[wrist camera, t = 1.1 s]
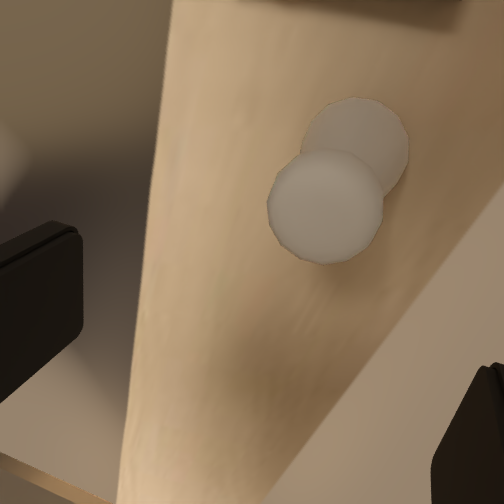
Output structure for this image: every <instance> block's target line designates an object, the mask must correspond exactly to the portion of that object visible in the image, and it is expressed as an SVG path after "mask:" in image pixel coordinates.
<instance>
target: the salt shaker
mask: <svg viewBox="0 0 504 504" xmlns="http://www.w3.org/2000/svg"><path fill="white" fill-rule="evenodd" d="M408 152H409V137H408V135H407V133H406V131H405V129H404V127H403V125H402V123H401V121H400V118H399V116H398V115H397V114H395V113H394V112H393V111H391V110H390V109H389V108H387V107H386V106H385V105H383V104H382V103H381V102H379V101H377V100H370V99H364V98H357V97H351V98H348V99H344V100H341V101H337V102H334V103H331V104H328V105H327V106H326V107H325V108H324V109H323V110H322V111H321V112H320V113H319V114H318V115H317V116H316V117H315V118H314V119H313V120H312V121H311V123H310V125H309V127H308V130H307V132H306V134H305V137H304V139H303V141H302V145H301V150H300V154H299V155H298V156H296V157H295V158H294V159H293V160H292V161H291V162H290V163H289V164H288V165H286V166H285V167H284V168H283V169H282V170H281V171H280V172H279V173H278V174H277V177H276V179H275V182H274V184H273V187H272V189H271V192H270V194H269V197H268V200H267V209H268V218H269V225H270V227H271V229H272V231H273V232H274V234H275V236H276V238H277V239H278V241H279V243H280V245H281V246H283V247H284V248H286V249H287V250H288V251H290V252H291V253H292V254H294V255H295V256H297V257H298V258H299V259H302V260H306V261H309V262H313V263H317V264H321V265H327V264H333V263H338V262H344V261H348V260H349V259H351V258H352V257H354V256H355V255H357V254H358V253H360V252H361V251H363V250H364V249H366V248H367V247H368V246H369V244H370V243H371V242H372V240H373V238H374V236H375V234H376V232H377V230H378V228H379V227H380V225H381V223H382V221H383V198H384V197H385V196H386V195H387V194H388V193H389V192H390V190H391V189H392V188H393V187H394V186H395V185H396V184H397V182H398V181H399V179H400V177H401V175H402V173H403V171H404V169H405V168H406V166H407V164H408Z"/></svg>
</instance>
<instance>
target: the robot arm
mask: <svg viewBox="0 0 504 504" xmlns="http://www.w3.org/2000/svg"><path fill="white" fill-rule="evenodd" d="M82 328H83V240H82V237H81V236H80V235H79V234H78V231H77V229H76V228H75V227H73V226H70V225H67V224H63V223H61V222H58V221H53V220H52V221H48V222H46V223H44V224H42V225H40V226H38V227H36V228H34V229H32V230H30V231H28V232H26V233H23V234H21V235H19V236H17V237H15V238H13V239H11V240H9V241H7V242H5V243H3V244H1V245H0V403H1V402H2V401H4V400H5V399H6V398H7V397H8V396H9V395H11V394H12V393H13V392H14V391H15V390H16V389H18V388H19V387H20V386H21V385H22V384H23V383H24V382H26V381H27V380H28V379H29V378H30V377H32V376H33V375H34V374H35V373H36V372H37V371H38V370H40V369H41V368H42V367H43V366H44V365H45V364H47V363H48V362H49V361H50V360H51V359H52V358H53V357H55V356H56V355H57V354H58V353H59V352H61V350H63V349H64V348H65V347H66V346H67V345H69V344H70V343H71V342H72V341H73V340H74V339H76V338H77V337H78V335H79V334H80V332H81V330H82ZM431 500H432V504H504V365H503V364H500V363H497V362H495V363H493V364H492V365H491V366H490V367H486V366H481V367H480V368H479V369H478V371H477V373H476V375H475V377H474V379H473V381H472V383H471V385H470V386H469V388H468V390H467V392H466V394H465V396H464V398H463V400H462V402H461V404H460V406H459V408H458V410H457V411H456V413H455V416H454V417H453V419H452V421H451V423H450V425H449V427H448V429H447V431H446V433H445V435H444V437H443V438H442V440H441V442H440V444H439V446H438V448H437V450H436V452H435V454H434V456H433V459H432V464H431ZM0 504H113V503H111V502H108V501H106V500H104V499H102V498H100V497H98V496H95V495H93V494H91V493H89V492H87V491H85V490H82V489H80V488H78V487H76V486H74V485H71V484H69V483H67V482H65V481H63V480H60V479H58V478H56V477H54V476H52V475H50V474H48V473H45V472H43V471H41V470H38V469H36V468H34V467H32V466H30V465H28V464H26V463H24V462H21V461H19V460H17V459H15V458H12V457H10V456H8V455H6V454H4V453H1V452H0Z"/></svg>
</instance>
